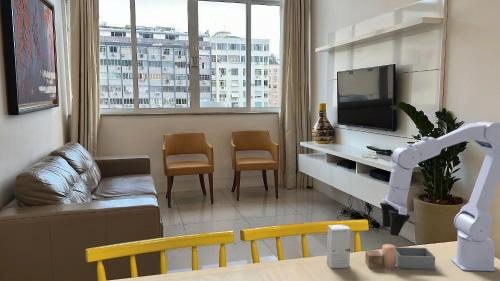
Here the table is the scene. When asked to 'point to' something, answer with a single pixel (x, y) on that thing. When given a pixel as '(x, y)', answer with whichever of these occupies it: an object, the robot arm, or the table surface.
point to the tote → (414, 258)
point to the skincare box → (338, 246)
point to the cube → (373, 259)
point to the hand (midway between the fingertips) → (390, 230)
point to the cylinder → (388, 256)
